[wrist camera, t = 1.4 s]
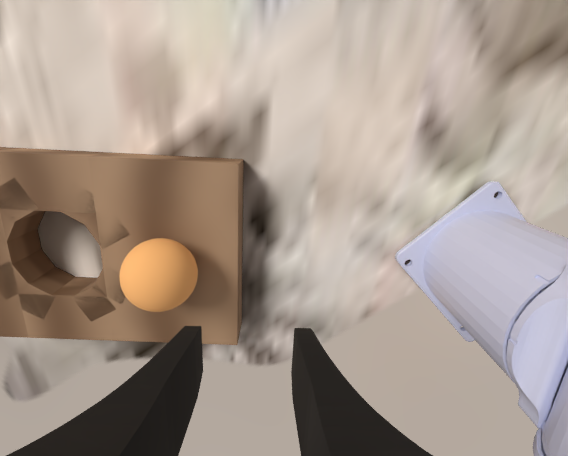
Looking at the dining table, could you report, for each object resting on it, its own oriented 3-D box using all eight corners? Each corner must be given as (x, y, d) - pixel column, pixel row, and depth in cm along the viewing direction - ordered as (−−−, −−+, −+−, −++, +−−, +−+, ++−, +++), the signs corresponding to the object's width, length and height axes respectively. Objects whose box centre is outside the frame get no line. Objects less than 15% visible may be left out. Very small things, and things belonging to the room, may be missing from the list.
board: (243, 159, 20) (238, 163, 18) (241, 322, 24) (237, 344, 21) (-16, 146, 20) (-57, 149, 17) (23, 314, 23) (-7, 336, 21)
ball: (218, 262, 19) (203, 294, 16) (174, 300, 20) (150, 341, 16) (169, 215, 19) (140, 238, 15) (125, 258, 19) (86, 290, 15)
